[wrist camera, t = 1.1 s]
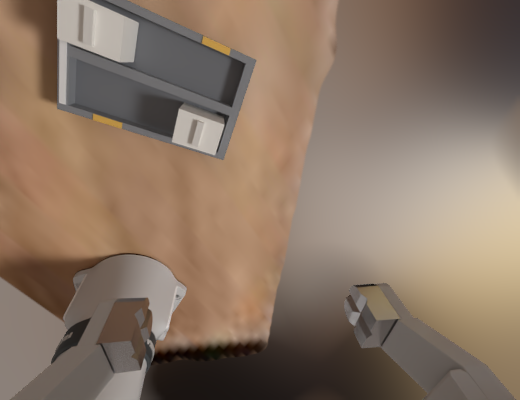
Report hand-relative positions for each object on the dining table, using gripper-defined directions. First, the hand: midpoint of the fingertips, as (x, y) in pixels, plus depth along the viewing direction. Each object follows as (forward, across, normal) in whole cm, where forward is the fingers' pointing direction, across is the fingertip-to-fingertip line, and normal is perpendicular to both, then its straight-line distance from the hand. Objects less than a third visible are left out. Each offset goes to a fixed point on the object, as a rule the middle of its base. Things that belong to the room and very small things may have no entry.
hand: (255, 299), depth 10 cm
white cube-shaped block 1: (+26, +4, -1) cm, 26 cm away
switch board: (+27, +9, -5) cm, 29 cm away
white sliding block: (+26, +13, -10) cm, 30 cm away
